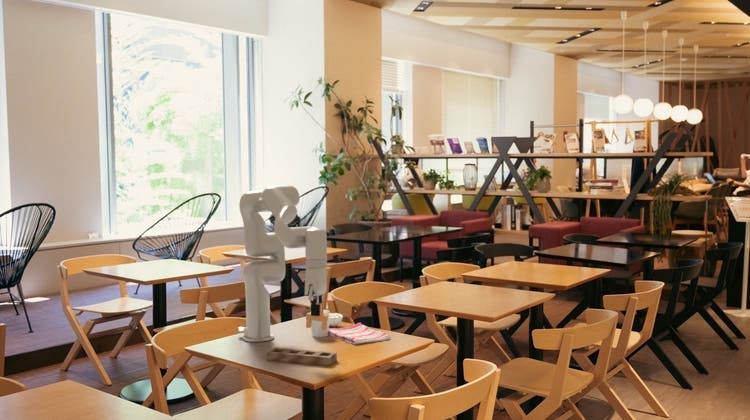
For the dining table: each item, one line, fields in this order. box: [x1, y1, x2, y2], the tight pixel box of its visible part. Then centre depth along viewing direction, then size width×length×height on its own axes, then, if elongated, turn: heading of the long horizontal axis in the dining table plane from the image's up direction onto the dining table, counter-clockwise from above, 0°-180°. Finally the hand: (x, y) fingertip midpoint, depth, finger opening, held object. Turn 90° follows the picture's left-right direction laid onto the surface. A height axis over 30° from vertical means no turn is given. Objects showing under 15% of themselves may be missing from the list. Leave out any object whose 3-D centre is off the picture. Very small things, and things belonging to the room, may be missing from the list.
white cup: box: [309, 309, 330, 338], centre depth 297 cm, size 8×8×10 cm
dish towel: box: [328, 322, 391, 346], centre depth 294 cm, size 17×23×4 cm
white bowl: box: [329, 312, 344, 328], centre depth 313 cm, size 10×12×7 cm
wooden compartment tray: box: [266, 347, 338, 367], centre depth 260 cm, size 24×7×3 cm, turn 72°
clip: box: [305, 302, 328, 330], centre depth 257 cm, size 8×2×9 cm, turn 72°
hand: (317, 314), depth 257 cm, fingers closed on clip, 2 cm apart
